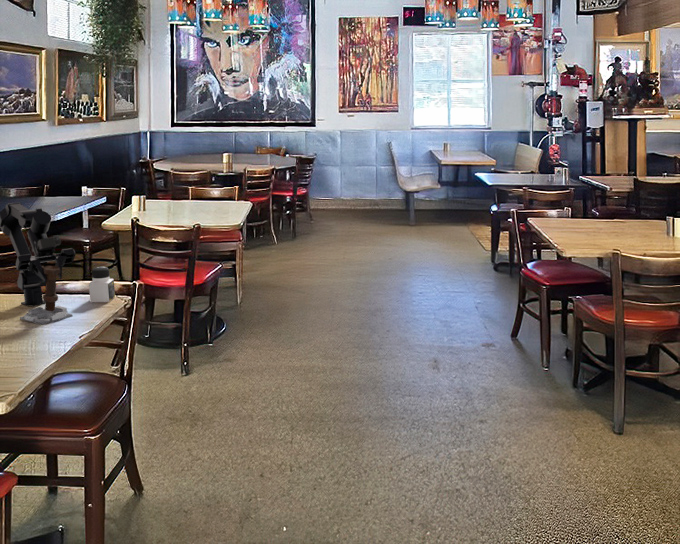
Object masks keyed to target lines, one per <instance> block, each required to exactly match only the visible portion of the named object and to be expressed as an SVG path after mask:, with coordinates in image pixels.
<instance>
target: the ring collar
mask: <svg viewBox="0 0 680 544" xmlns="http://www.w3.org/2000/svg"><path fill="white" fill-rule="evenodd" d="M70 316H71V317H73V314H72V313H69V312H68V308H67V307H64V306H60V305H57V306H56V305H55V310H54V311H46V310H45V308H43V306H39V307H34V308H30V309H27V312H26V313H25V314H24V315H23V316H20V317H19V320H21V319H22V321H25V322H30V323H32V324H38V325H40V324H41V325H42V324H43V325H45V324H49V323H52V322H57V321H59V319H60V320H63V319H62V318H64V319H67V318H71V317H70ZM56 320H57V321H56ZM41 325H40V326H41ZM43 325H42V326H43Z"/></svg>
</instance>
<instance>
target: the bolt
mask: <svg viewBox="0 0 680 544" xmlns="http://www.w3.org/2000/svg"><path fill="white" fill-rule="evenodd" d="M42 267H43V268H42V269H43V272H44V274H46V280H47V281H46V286H45V293H44V294H42V297H43V300H44V301H45V303H44V304H45V306H44V309H45V310H46V311H54V310H55V307H56V302H57V301H58V300H59V296H58V294H57V293H56V291H57V288H56V287H57V276H58V273H60V268H59V267H57V266H55V265H45V266H42Z"/></svg>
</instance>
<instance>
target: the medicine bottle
mask: <svg viewBox="0 0 680 544" xmlns="http://www.w3.org/2000/svg"><path fill="white" fill-rule="evenodd" d="M91 276H92V279H91V280H92V281H90V282H89V283H88V288H89V289H88V290H89V301H90V303H110V302H111V301H112V300H114V297H115V298H116V293H115V292H116V291H115V280H114V278H111V277H110V276H111V275H110V269H109V268H108V267H107V266H97V267H93V268H92V270H91Z"/></svg>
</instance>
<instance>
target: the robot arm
mask: <svg viewBox="0 0 680 544" xmlns="http://www.w3.org/2000/svg"><path fill="white" fill-rule="evenodd" d="M51 222H52V216H51V215H50V214H49V213H48V212H46V211H44V210H43V209H42V208H36V209H29V208H28V207H26V206H24V205H22V203H21V202H9V203H7V204H5V207H4V208H3V209H1V210H0V230H1V232H2V234H4V235H6V237H9V239H10V242H11V244H12V247H13V249H14V252H15V254H16V257H17V258H16V261H15V268H16V271H18V272H19V274H18V278H17V281H16V283H17V288H18V289H20V290H22V291H23V298H24V299H23V300H24V301H22V302H21V303H20V304H21V305H24V306H27V307H35V306H38V305H42V304H45V301H44V300H43V291H42V288H43V287H46V281H47V280H46V274H44V272H43V269H42V268H43V267H44V266H43V265H42V263H46V262H48V263H49V262H55V265H54V266H57V267H59V268H60V273H58V274H57V276H58V278H59V280H62V278H63V267H64V266H65V265H68V264H69V265H70V264H72V263H73V262H74V260H75V257H76V255H77V254H76V250H75V249H74V248H73V247H70V248H62V249H61V251H60V253H56V254H55V252H56V247H57V246H60V245H61V244H62V241H61V238H60V235H58V234H56V235H52V237H48V235H47V232H49V228H50V224H51ZM23 229H28V230H27V232H26V234H27V239H28V241H29V242H30V245H31V249H30V248H29V245H28V243H27V240H26V238H25V235H24V233H23ZM30 250H31V251H30ZM32 253H33V254H34V255H32Z"/></svg>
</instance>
